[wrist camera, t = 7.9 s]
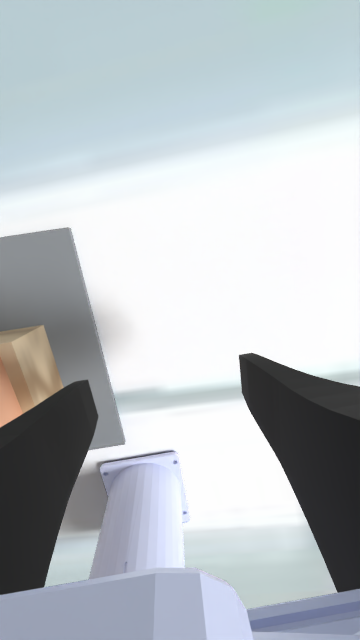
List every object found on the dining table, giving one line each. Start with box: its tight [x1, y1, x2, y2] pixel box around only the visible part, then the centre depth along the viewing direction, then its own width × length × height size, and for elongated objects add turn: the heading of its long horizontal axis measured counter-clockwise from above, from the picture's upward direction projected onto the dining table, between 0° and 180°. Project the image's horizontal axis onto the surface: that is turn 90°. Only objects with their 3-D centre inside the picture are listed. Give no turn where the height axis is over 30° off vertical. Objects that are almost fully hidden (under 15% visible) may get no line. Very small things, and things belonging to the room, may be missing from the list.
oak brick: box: [0, 325, 64, 413], centre depth 18 cm, size 8×6×4 cm
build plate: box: [0, 228, 125, 450], centre depth 20 cm, size 20×16×1 cm
